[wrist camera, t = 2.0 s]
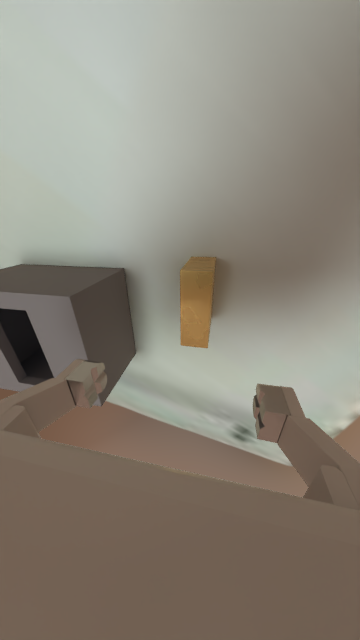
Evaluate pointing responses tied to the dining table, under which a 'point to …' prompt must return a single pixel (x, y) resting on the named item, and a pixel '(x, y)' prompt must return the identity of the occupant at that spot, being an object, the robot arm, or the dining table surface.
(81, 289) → the money box
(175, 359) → the dining table surface
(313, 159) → the dining table surface
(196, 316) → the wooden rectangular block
